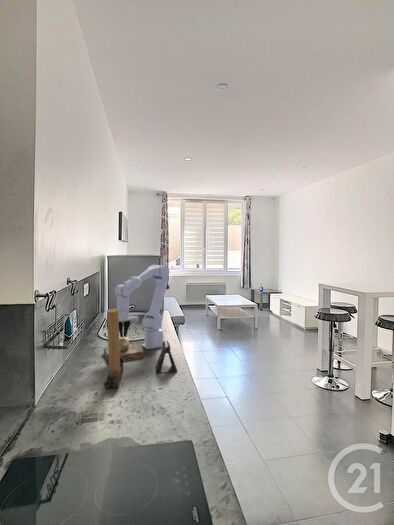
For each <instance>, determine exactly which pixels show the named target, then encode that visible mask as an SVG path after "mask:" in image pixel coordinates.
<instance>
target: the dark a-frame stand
mask: <svg viewBox="0 0 394 525" xmlns="http://www.w3.org/2000/svg"><path fill="white" fill-rule="evenodd" d="M162 346H163V347H161V350H160V354H159V357H158V360H157V362H156V365H155V373H156V374H160V375H161V374H169V373H170V374H171V373H173V374H174V373H178V370H177V366H176V363H175V361H174V358H173V355H172V352H171V345H170V342H169V341H168V340H166V341H165V340H163V343H162ZM166 354H168V357H169V360H170V366H163V365H164V360H165V356H166Z"/></svg>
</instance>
